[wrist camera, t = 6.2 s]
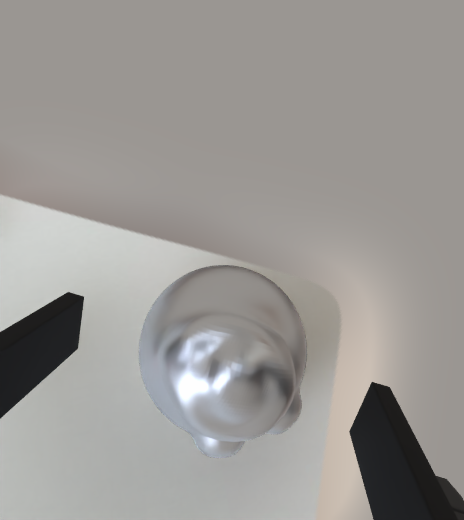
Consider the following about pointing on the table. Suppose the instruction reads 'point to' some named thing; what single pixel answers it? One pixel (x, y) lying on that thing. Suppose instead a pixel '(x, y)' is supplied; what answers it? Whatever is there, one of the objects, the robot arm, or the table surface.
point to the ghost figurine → (224, 357)
